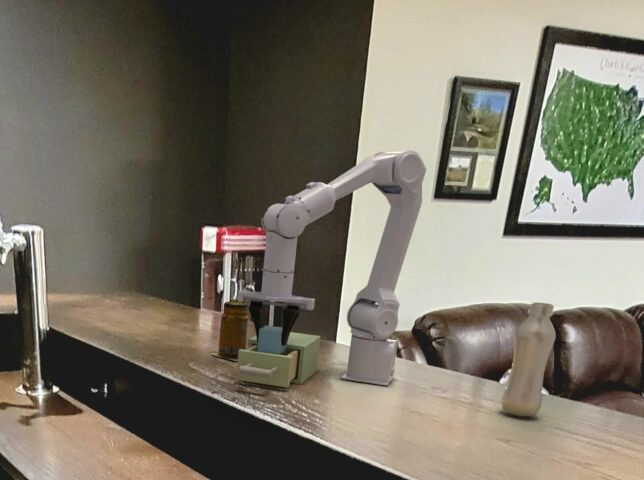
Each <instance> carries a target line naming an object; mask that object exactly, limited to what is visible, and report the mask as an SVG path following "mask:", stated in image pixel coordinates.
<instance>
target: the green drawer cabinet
mask: <svg viewBox="0 0 644 480" xmlns="http://www.w3.org/2000/svg"><path fill="white" fill-rule="evenodd" d="M321 339H322V336H321V335H314V334H308V333H299V332H292V331H291V332H290V335H289V338H288V342H287V345H286V348H289V349H297V350H300V359H299V368H298V375H297V376H296V377H295V378H293V379H292V380H291V381H290V384H296V385H302V384H303V383H304V382H305V381H307V380H308V379H309V378H311V376H312V375H314V374H315V373H316V372H318V363H319V356H320V355H319V353H320V347H321ZM256 344H258V342H257V337H256V335H254V336H252V337H250V338H248V341H247V349H248V348H250V347H252V346H254V345H256Z"/></svg>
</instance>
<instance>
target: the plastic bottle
mask: <svg viewBox="0 0 644 480" xmlns="http://www.w3.org/2000/svg"><path fill="white" fill-rule="evenodd" d="M554 307H555V305H554V304H552V303H546V302H535V301H534V302H530V303H529V307H528V310H527V314H528V316H527V318H525V319H524V320H523V321H522V322H521V323H520V324H519V325H518V326H517V328H516V329H515V331H514V339H513V340H514V341H513V356H512V364H511V369H510V373H509V375H508V379H507V383H506V387H505V389H504V390H503V393H502V395H501V403H500V405H501V408H502V410H503V412H505V413H507V414H510V415H513V416H516V417H534V416H536V415H537V414H538V413H539V412H540V410H541V407H542V404H543V385H544V377H545V371H546V367H547V365H548V364H547V363H548V360H549V357H550V355H551V352H552V349H553V347H554V343H555V341H556V335H557V334H556V330H555V327H554V325H553V323H552V321H551V317H552V316H553V315H554V314H553V311H554Z"/></svg>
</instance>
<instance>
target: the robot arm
mask: <svg viewBox="0 0 644 480" xmlns="http://www.w3.org/2000/svg"><path fill="white" fill-rule="evenodd" d="M426 172H427V167H426V165H425V163H424V161H423V159H422V157H421V155H420V153H418V152H417V151H415V150H410V149H409V150H405V151H378V152H376V153H374V154H373V155H370V156H367V157H365V158H364V159H363V160H362V161H361V162H359V163H358V164H356V165H355V166H353V167H352V168H350V169H349V170H347V171H345V172H344V173H342V174H341V175H339V176H338V177H336V178H334V179H333V180H331V181H330V182H329V183H327V184H326V183H324V182H321V181H318V182H316V181H310V182H309V183H307V184H305V186H306V188H305V189H303V190H302V191H300V192H298V193H297V194H295V195H287V196H286V197H285V201H284V203H274V204H272V205H270V206H269V207H267V209H266V211H265V213H264V216H263V217H262V218H261V227H262V229H263V231H264V233H265V248H264V257H263V258H264V259H263V260H264V261H263V268H262V281H261V282H262V283H261V290H260V291H248V290H240V291H238V295H237V302H242V303H249V305H248V306H247V309H248V312H249V314H250V317H251V319H252V322H253V326H254V329H255V336H256V337H257V342H258V341H259V329H261V328H263V327H265V326H266V319H267V312H268V308H269V306H277V307H283V308H282V328H283V329H282V339H281V346H285V345H287V342H288V338H289V335H290V332H292V329H293V327H294V325H295V323H296V322H297V320H298V318H299V317H300V315H301V313H302V311H303V310H307V311H312V310H313V311H314V309H315V302H316V298H313V297H312V298H311V297H304V296H299V295H293V294H292V293H293V285H294V275H295V264H296V255H297V245H298V237H299V236H301V234H302V233H303V232H304V230H305V228H306V226H308V225H310V224H311V223H313V222H315V221H316V220H318V219H320V218H321V217H323V216H325V215H327V214H329V213H330V212H331V211H333V209H334V207H335V203H336V201H338V200H339V199H342V198H344V197H346V196H348V195H350V194H351V193H354V192H356V191H358V190H359V189H361V188H363V187H365V186H367V185H369V184H372V185H373V187H375V188H376V189H377V190H378V191H379V192H380V193H381V194H382V195H383V196H384V197H385V199H386V200H387V202H388V204H389V205H390V208H389V211H388V215H387V219H386V221H385V225H384V228H383V231H382V235H381V238H380V242H379V245H378V247H377V251H376V255H375V258H374V261H373V264H372V268H371V272H370V274H369V277H368V281H367V284H366V286H365V287H363V288H362V289H360V291H359V292H357V294H356V297H355V299H354V301H353V303H352V304H351V305H350V307H349V308H348V310H347V313H346V322H347V325H348V327H349V328H350V334H351V338H350V345H349V352H348V359H347V368H346V372H345V373H344V374H343V375H342V376H341V377H340V378H341V380H345V381H353V382H359V383H366V384H373V385H379V386H389V385H390V383H391V382H392V380H393V379H394V375H395V365H396V359H397V358H396V357H397V353H398V352H397V351H398V340H396V339H391V338H390V337H391V336H392V335H393V334H394V333H395V331H396V330H397V328H398V324H399V314H398V313H399V308H400V301H399V299H398V298H397V296H396V294H395V291H396V287H397V283H398V280H399V277H400V274H401V271H402V268H403V265H404V261H405V259H406V255H407V252H408V249H409V245H410V242H411V239H412V235H413V233H414V230H415V226H416V223H417V220H418V217H419V213H420V211H421V207H422V203H423V182H424V179H425V177H426Z"/></svg>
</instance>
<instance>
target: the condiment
mask: <svg viewBox="0 0 644 480" xmlns="http://www.w3.org/2000/svg"><path fill="white" fill-rule="evenodd" d="M222 312H223V313H221V316H220V328H219V340H218V352H211V353H209V354H210V355H213V356H215V357H219V358H224V359H227V360H230V361H234V362H238V351H239V350H240V349H242V350H246V347H247V333H248V324H249V323H248V322H249V316H248V315H247V314H248V304H247V302H238V301H225V302H224V303H223V309H222Z"/></svg>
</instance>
